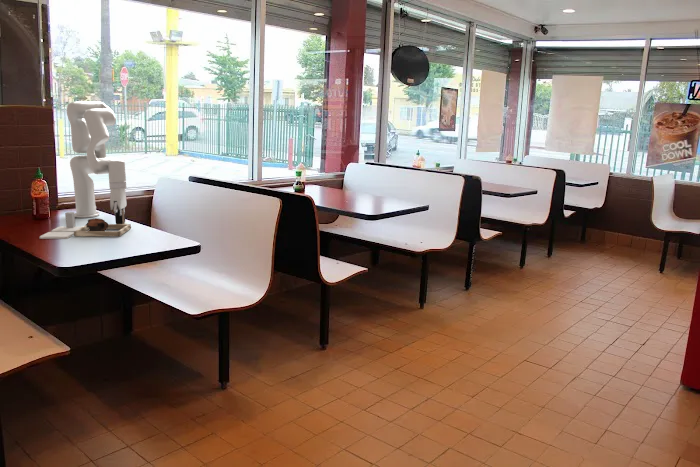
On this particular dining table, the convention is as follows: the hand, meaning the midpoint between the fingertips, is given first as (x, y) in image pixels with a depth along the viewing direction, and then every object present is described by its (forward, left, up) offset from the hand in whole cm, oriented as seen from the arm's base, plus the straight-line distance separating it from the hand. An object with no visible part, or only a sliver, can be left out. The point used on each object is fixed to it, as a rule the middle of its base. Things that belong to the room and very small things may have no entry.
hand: (120, 222), depth 289 cm
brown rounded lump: (+15, -6, -2) cm, 16 cm away
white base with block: (+14, -22, -2) cm, 26 cm away
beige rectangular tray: (+9, -4, -2) cm, 10 cm away
